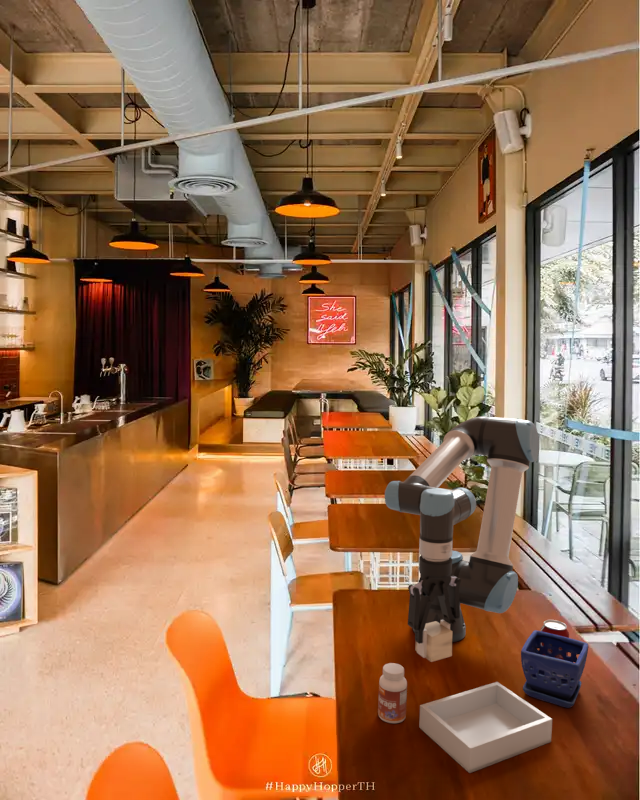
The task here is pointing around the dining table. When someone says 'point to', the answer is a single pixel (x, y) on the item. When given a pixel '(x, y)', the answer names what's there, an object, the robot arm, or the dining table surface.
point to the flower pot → (553, 668)
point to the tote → (484, 725)
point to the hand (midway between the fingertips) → (433, 651)
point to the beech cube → (438, 641)
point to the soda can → (555, 632)
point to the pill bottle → (392, 694)
